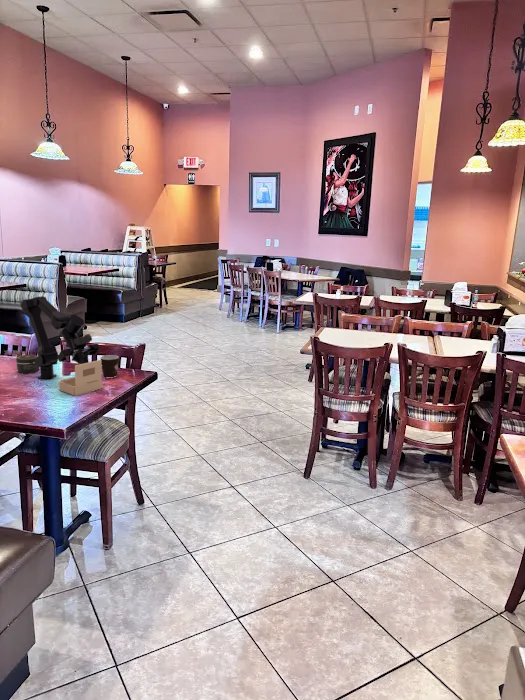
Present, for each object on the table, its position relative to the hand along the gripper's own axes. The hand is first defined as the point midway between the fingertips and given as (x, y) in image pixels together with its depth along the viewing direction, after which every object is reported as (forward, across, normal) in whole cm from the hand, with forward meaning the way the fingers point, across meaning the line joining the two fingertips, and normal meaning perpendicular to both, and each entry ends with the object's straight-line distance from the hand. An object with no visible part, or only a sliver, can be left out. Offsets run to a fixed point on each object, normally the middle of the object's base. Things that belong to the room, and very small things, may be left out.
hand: (88, 367), depth 220 cm
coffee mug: (0, +22, +16) cm, 28 cm away
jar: (-26, -1, +42) cm, 50 cm away
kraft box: (+4, 0, +12) cm, 13 cm away
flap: (+5, 0, +5) cm, 7 cm away
